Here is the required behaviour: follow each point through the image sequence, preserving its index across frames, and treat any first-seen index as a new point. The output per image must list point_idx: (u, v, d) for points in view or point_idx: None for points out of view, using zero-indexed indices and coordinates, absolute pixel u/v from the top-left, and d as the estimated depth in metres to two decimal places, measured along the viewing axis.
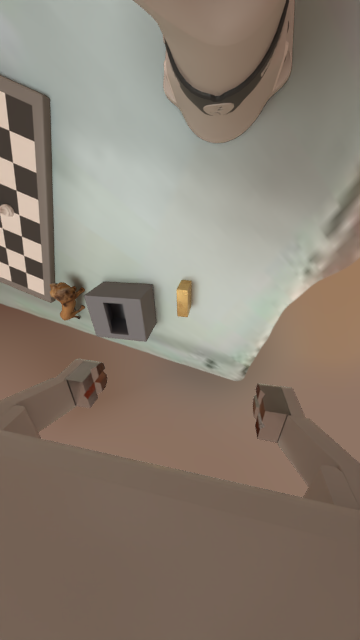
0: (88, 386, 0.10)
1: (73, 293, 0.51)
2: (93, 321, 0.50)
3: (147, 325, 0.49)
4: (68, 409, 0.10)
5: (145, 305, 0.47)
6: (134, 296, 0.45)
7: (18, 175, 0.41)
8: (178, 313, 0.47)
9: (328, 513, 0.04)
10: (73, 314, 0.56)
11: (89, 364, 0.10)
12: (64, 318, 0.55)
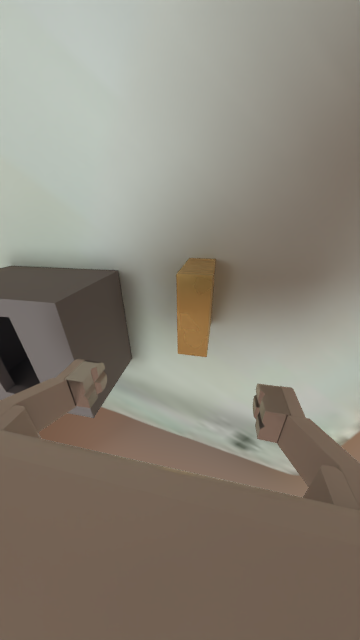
0: (88, 386, 0.10)
1: None
2: None
3: None
4: (68, 409, 0.10)
5: (87, 322, 0.17)
6: (49, 293, 0.15)
7: None
8: (180, 346, 0.17)
9: (328, 513, 0.04)
10: None
11: (89, 364, 0.10)
12: None
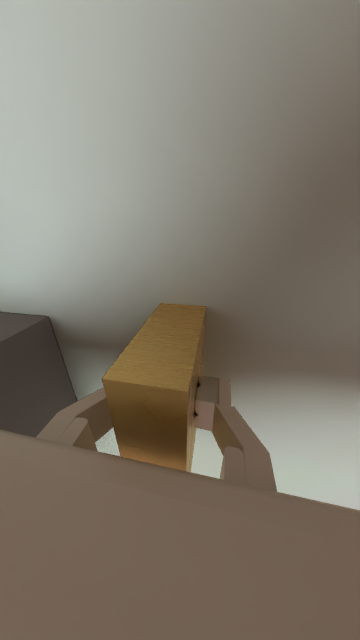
0: None
1: None
2: None
3: None
4: None
5: None
6: None
7: None
8: None
9: (328, 513, 0.04)
10: None
11: None
12: None
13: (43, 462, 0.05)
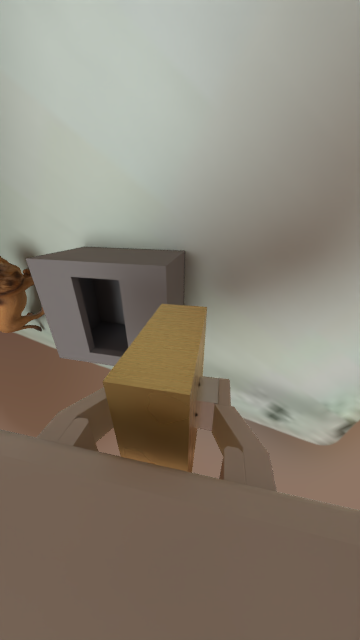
0: None
1: (14, 276, 0.25)
2: (51, 324, 0.22)
3: None
4: None
5: (173, 289, 0.20)
6: (151, 261, 0.18)
7: None
8: None
9: (328, 513, 0.04)
10: (22, 321, 0.29)
11: None
12: (1, 329, 0.28)
13: (43, 462, 0.05)
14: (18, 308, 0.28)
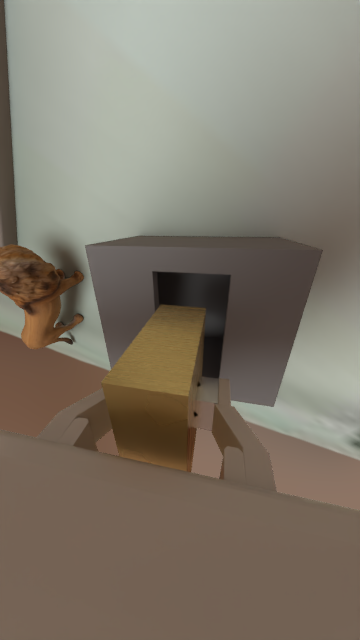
0: None
1: (51, 277, 0.19)
2: (109, 339, 0.16)
3: None
4: None
5: None
6: (278, 246, 0.12)
7: None
8: None
9: (328, 513, 0.04)
10: (55, 334, 0.23)
11: None
12: (31, 345, 0.22)
13: (43, 462, 0.05)
14: (52, 318, 0.22)
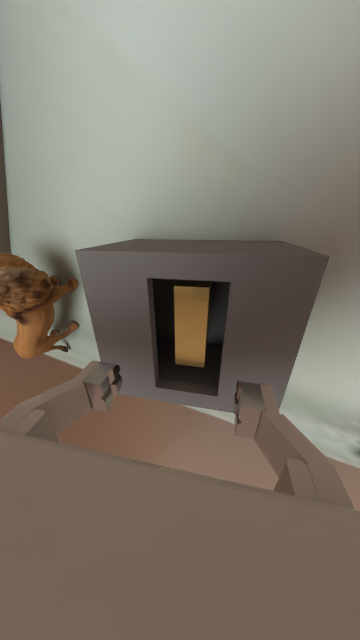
0: (105, 389, 0.09)
1: (43, 285, 0.19)
2: (102, 348, 0.15)
3: None
4: (85, 412, 0.09)
5: None
6: (280, 251, 0.11)
7: None
8: (178, 357, 0.17)
9: (328, 513, 0.04)
10: (49, 343, 0.23)
11: (105, 366, 0.10)
12: (23, 354, 0.21)
13: (43, 462, 0.05)
14: (45, 327, 0.21)
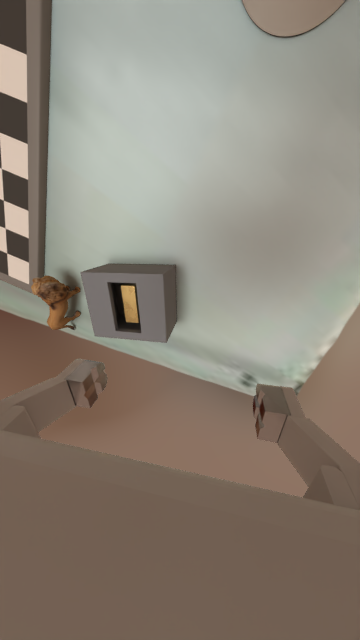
0: (88, 386, 0.10)
1: (63, 290, 0.39)
2: (91, 313, 0.35)
3: (168, 318, 0.35)
4: (68, 409, 0.10)
5: (168, 288, 0.33)
6: (154, 272, 0.31)
7: (2, 109, 0.31)
8: (126, 318, 0.36)
9: (328, 513, 0.04)
10: (65, 321, 0.43)
11: (89, 364, 0.10)
12: (52, 326, 0.41)
13: (43, 462, 0.05)
14: (63, 312, 0.41)
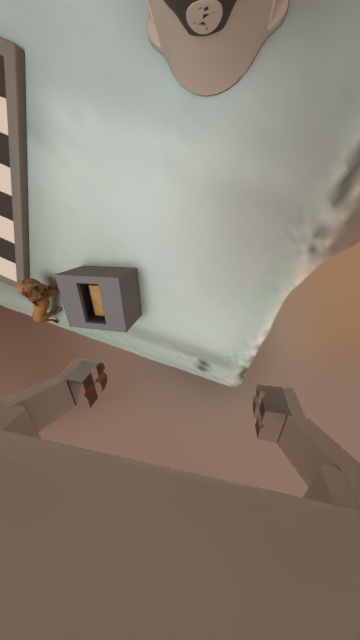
0: (88, 386, 0.10)
1: (44, 290, 0.47)
2: (65, 307, 0.43)
3: (128, 312, 0.42)
4: (68, 409, 0.10)
5: (126, 288, 0.41)
6: (113, 275, 0.39)
7: None
8: (95, 312, 0.44)
9: (328, 513, 0.04)
10: (47, 315, 0.51)
11: (89, 364, 0.10)
12: (36, 320, 0.49)
13: (43, 462, 0.05)
14: (45, 308, 0.49)
